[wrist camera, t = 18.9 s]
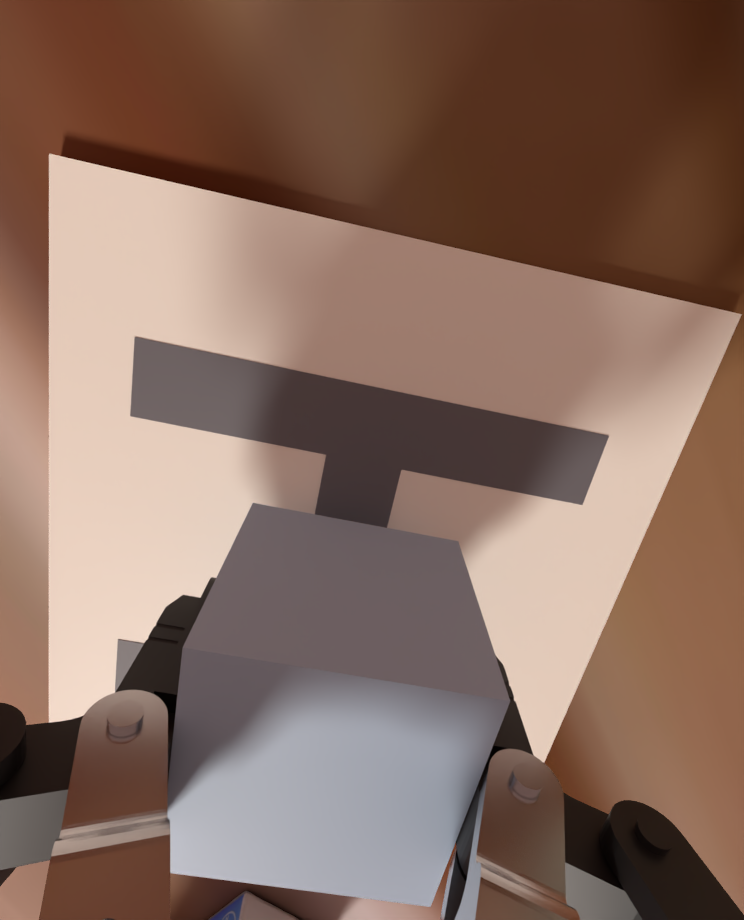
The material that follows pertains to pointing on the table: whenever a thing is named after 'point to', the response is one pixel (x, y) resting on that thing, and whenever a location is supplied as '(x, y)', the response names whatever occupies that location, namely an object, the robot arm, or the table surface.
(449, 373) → the letter sheet
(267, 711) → the blue cube
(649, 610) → the table surface
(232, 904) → the medicine box
